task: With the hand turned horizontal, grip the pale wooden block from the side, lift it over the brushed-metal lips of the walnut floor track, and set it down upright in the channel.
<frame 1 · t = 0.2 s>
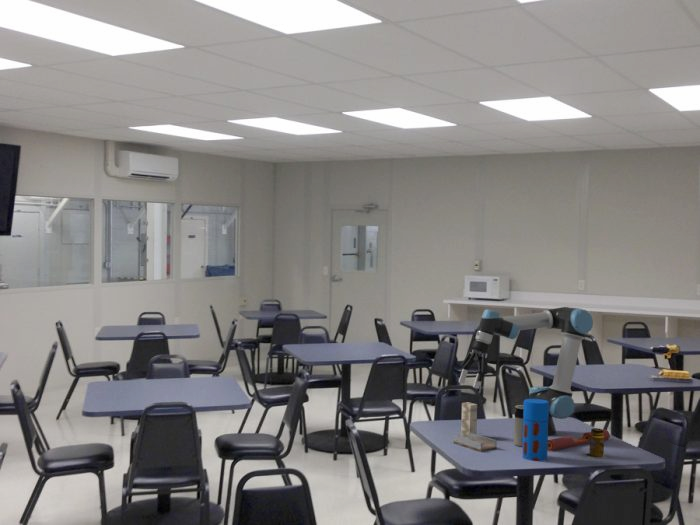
hand: (468, 385, 360), 28 cm above the table, tool tilted 20°, fingers open, 13 cm apart
thermos: (534, 458, 340), on the table
pale wooden block: (468, 436, 377), on the table
travel mug: (522, 445, 363), on the table
condiment: (594, 456, 346), on the table
blood vessel: (578, 445, 366), on the table
floor track: (474, 446, 358), on the table
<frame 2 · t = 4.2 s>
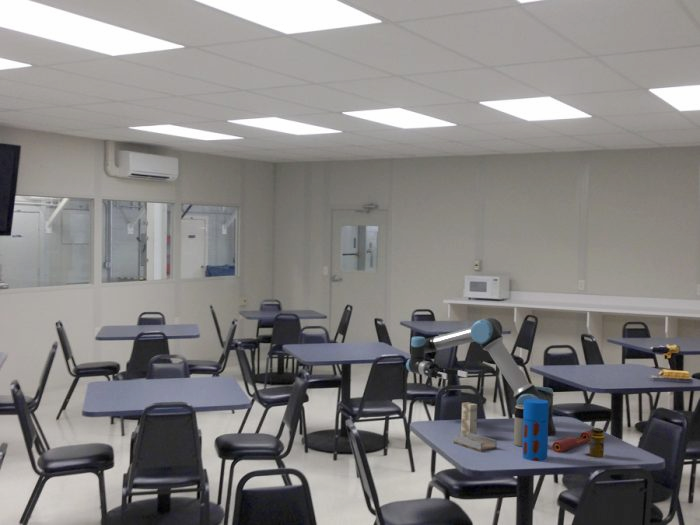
hand: (457, 375, 385), 28 cm above the table, tool horizontal, fingers open, 13 cm apart
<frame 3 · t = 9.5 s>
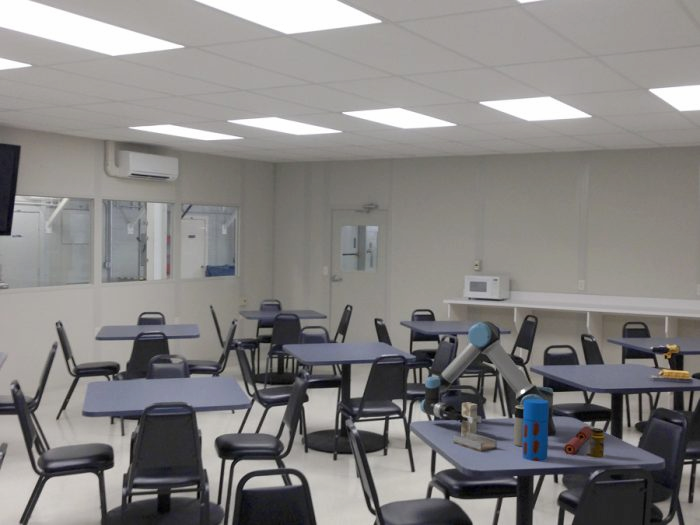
hand: (476, 420, 373), 9 cm above the table, tool horizontal, fingers closed on pale wooden block, 4 cm apart
pale wooden block: (468, 436, 377), on the table, touching gripper
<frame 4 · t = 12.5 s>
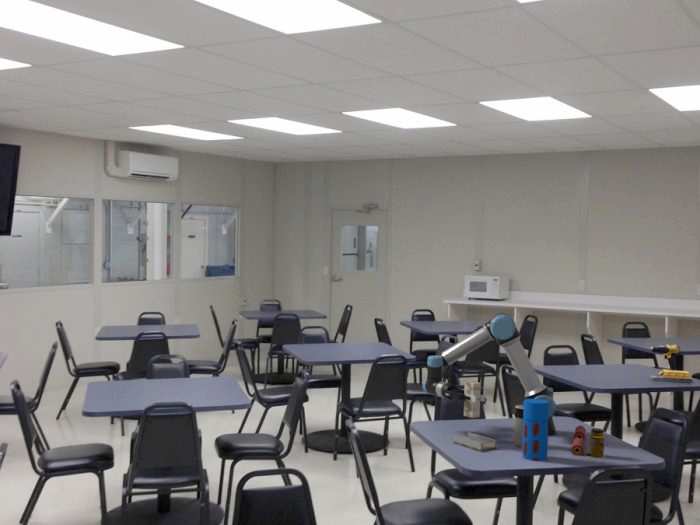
hand: (480, 399, 358), 22 cm above the table, tool horizontal, fingers closed on pale wooden block, 4 cm apart
pale wooden block: (471, 416, 363), point 13 cm above the table, touching gripper
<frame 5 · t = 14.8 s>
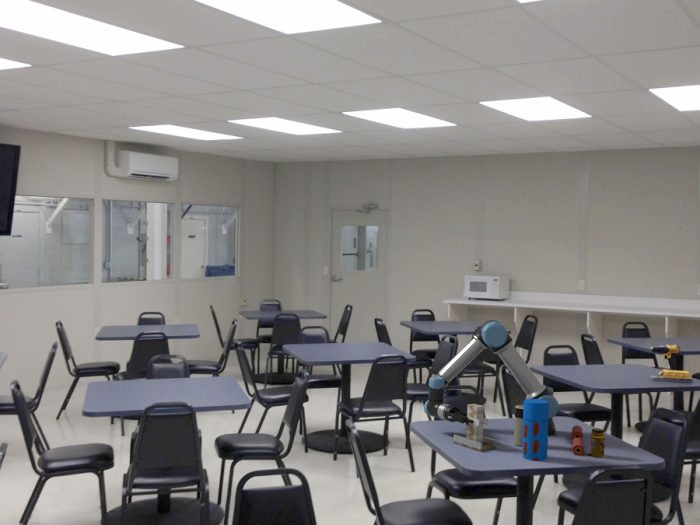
hand: (483, 422, 354), 12 cm above the table, tool horizontal, fingers closed on pale wooden block, 4 cm apart
pale wooden block: (474, 439, 358), point 3 cm above the table, touching gripper
when the fingers open (11 cm above the table, at t = 15.6 s): pale wooden block drops 1 cm, resting on floor track.
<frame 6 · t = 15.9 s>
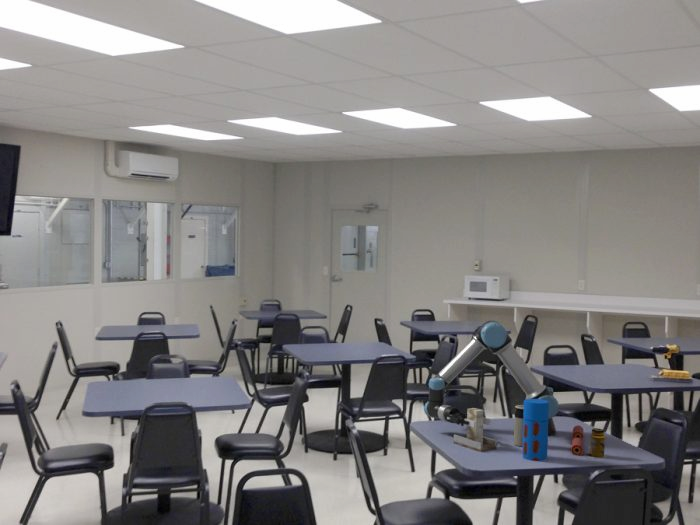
hand: (482, 423, 354), 11 cm above the table, tool horizontal, fingers open, 9 cm apart
pale wooden block: (474, 443, 358), point 1 cm above the table, touching floor track
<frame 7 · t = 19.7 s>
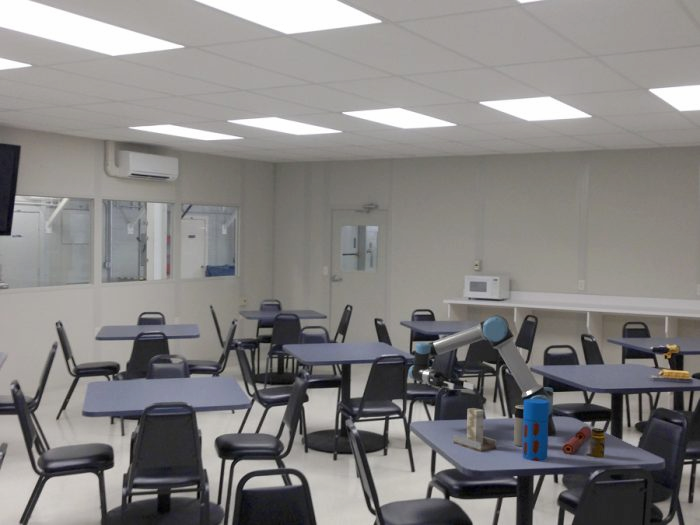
hand: (463, 387, 367), 26 cm above the table, tool horizontal, fingers open, 13 cm apart
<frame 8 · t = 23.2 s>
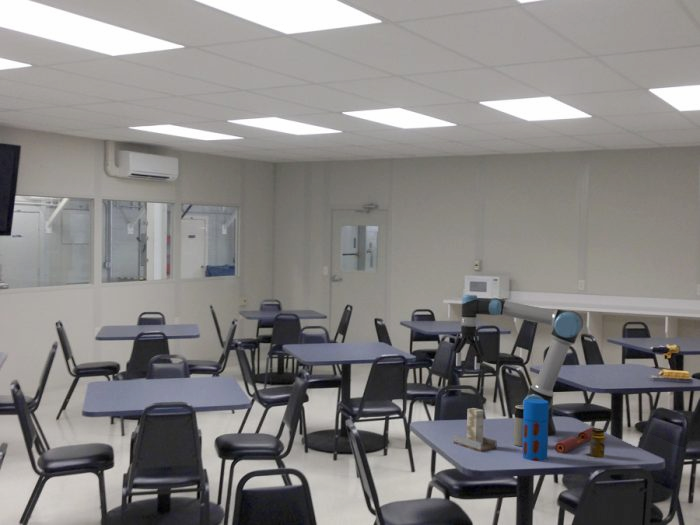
hand: (467, 367, 390), 32 cm above the table, tool pointing down, fingers open, 13 cm apart
at the end: pale wooden block inside the target area on the floor track (0.1 cm from its centre), point 1.0 cm above the floor track's base; pale wooden block tilted 0°; the gripper is holding nothing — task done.
